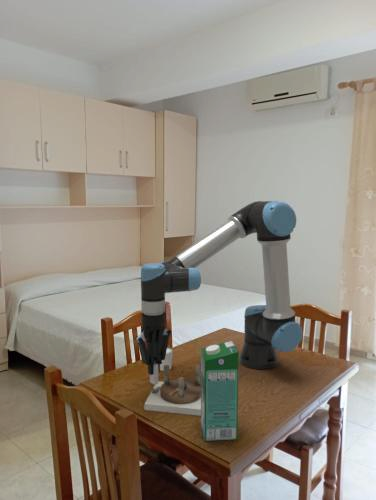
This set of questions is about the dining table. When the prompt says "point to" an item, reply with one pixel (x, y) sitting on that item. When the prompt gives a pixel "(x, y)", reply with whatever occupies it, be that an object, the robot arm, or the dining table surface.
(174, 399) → the cam capstan
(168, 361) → the white tapered cup
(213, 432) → the milk carton
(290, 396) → the dining table surface
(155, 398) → the stand
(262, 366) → the robot arm
